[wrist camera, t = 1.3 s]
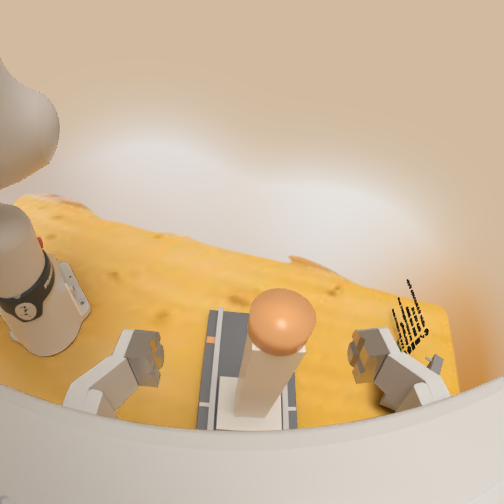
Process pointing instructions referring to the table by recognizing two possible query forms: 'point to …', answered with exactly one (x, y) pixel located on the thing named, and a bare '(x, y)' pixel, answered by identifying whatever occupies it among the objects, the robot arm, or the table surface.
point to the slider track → (231, 368)
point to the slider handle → (266, 362)
